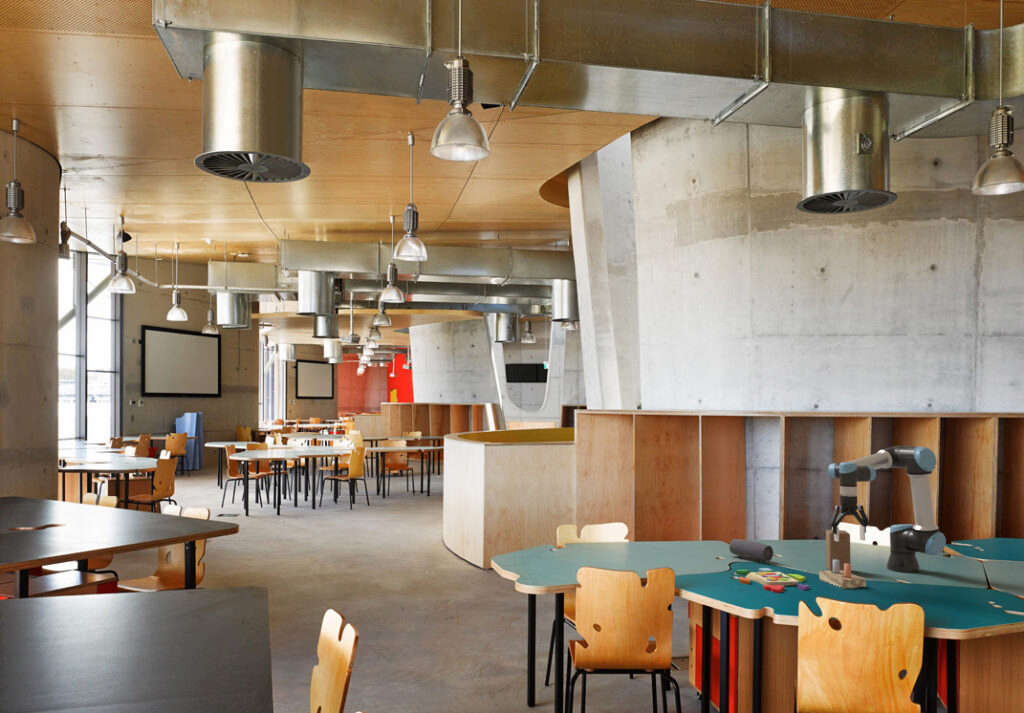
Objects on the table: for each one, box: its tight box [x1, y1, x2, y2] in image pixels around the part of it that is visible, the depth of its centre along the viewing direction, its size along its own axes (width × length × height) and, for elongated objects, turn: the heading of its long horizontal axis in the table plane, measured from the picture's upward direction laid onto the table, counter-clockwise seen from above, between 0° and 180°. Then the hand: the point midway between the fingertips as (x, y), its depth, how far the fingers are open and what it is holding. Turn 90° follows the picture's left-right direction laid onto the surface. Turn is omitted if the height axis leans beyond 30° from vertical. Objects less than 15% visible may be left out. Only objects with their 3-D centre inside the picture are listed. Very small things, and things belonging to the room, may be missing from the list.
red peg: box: [844, 563, 852, 578], centre depth 355 cm, size 3×3×10 cm
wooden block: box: [825, 529, 851, 571], centre depth 387 cm, size 10×10×20 cm
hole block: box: [818, 570, 867, 589], centre depth 360 cm, size 12×18×4 cm, turn 11°
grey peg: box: [833, 560, 840, 574], centre depth 364 cm, size 3×3×10 cm
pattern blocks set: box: [735, 567, 810, 594], centre depth 363 cm, size 38×34×3 cm
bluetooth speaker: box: [728, 538, 774, 562], centre depth 413 cm, size 23×9×10 cm, turn 34°
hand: (849, 540), depth 357 cm, fingers open, 13 cm apart
